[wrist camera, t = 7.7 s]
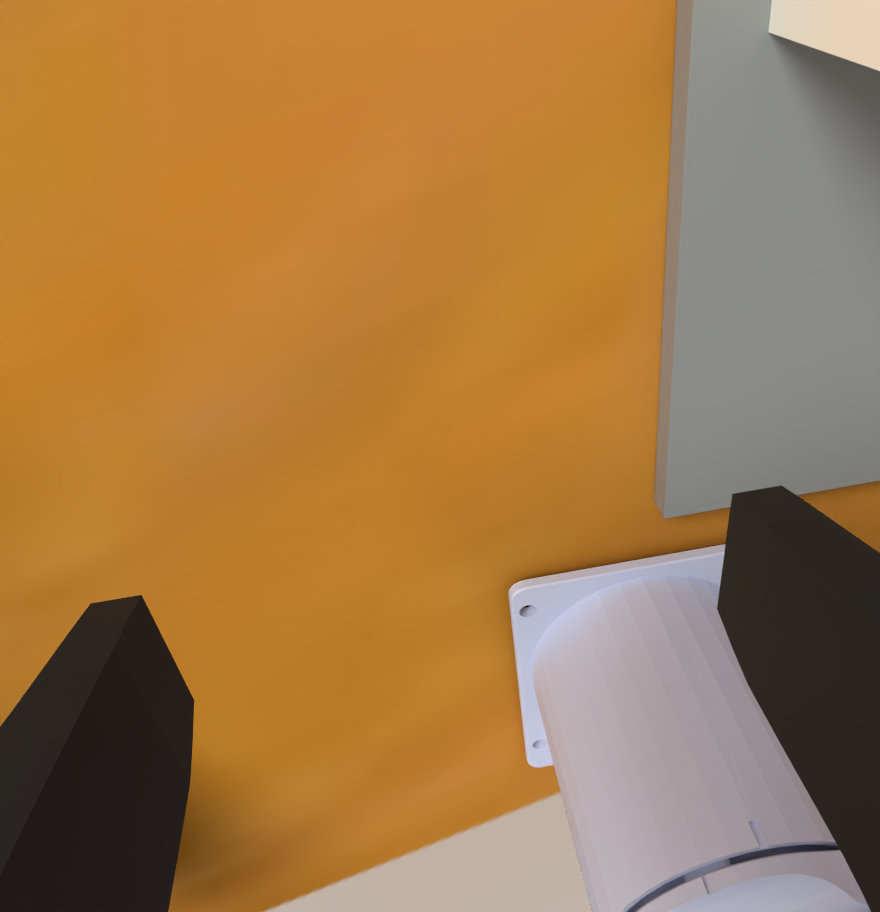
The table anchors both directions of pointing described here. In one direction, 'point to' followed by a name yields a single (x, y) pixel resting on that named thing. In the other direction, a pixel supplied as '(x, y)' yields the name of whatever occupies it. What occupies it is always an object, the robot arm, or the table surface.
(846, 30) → the cream base brick
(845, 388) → the plate
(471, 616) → the table surface
